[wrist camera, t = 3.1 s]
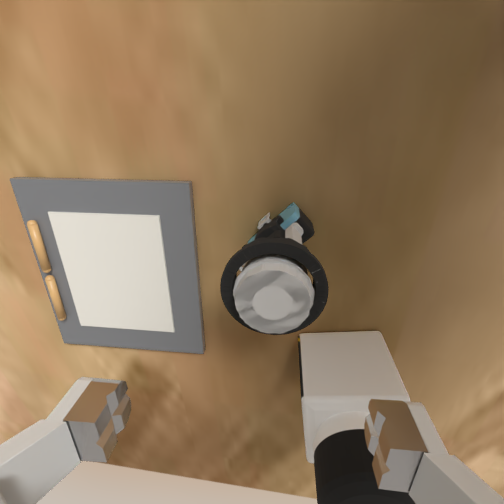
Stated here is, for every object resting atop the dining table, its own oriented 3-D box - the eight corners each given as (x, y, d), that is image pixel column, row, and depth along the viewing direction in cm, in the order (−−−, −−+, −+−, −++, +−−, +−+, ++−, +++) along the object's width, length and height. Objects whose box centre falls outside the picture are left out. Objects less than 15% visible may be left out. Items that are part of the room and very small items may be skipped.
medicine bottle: (297, 331, 27) (305, 479, 16) (380, 328, 26) (450, 484, 15) (302, 389, 30) (311, 547, 19) (377, 388, 29) (433, 555, 18)
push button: (262, 281, 25) (250, 375, 16) (217, 236, 24) (175, 311, 15) (327, 232, 23) (355, 310, 14) (281, 179, 21) (277, 227, 12)
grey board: (191, 181, 22) (185, 185, 21) (205, 348, 29) (201, 359, 27) (17, 177, 23) (1, 180, 22) (68, 338, 30) (59, 348, 29)
